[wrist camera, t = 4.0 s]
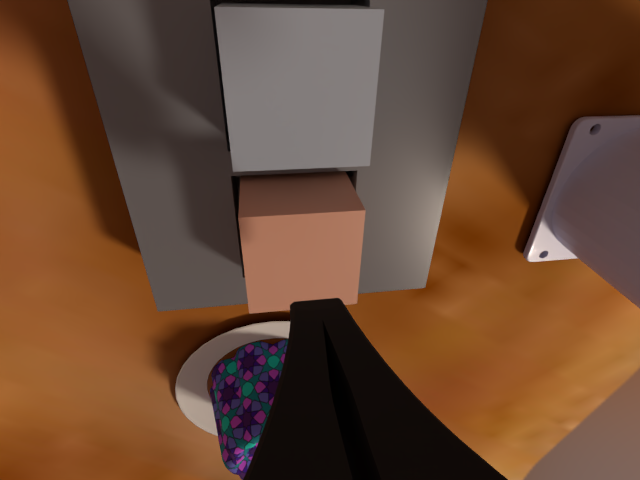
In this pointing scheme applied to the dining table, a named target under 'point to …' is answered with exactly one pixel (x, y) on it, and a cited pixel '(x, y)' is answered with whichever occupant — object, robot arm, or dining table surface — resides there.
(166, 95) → the keypad board
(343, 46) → the key slate
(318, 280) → the key terracotta
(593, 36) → the dining table surface
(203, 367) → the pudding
